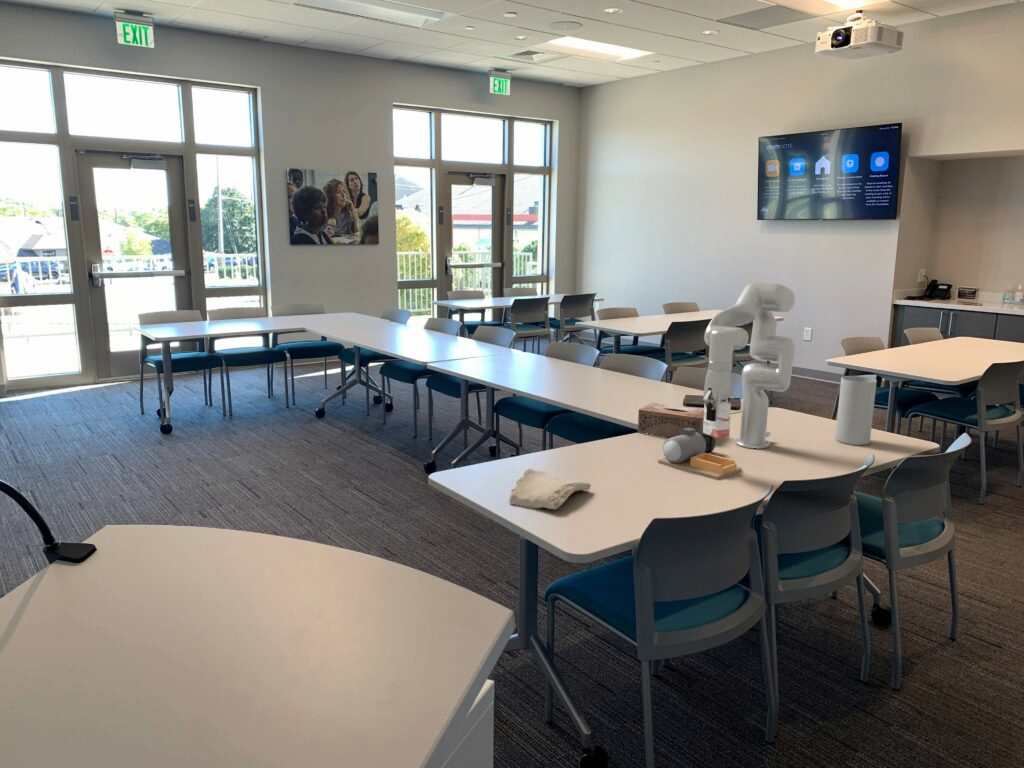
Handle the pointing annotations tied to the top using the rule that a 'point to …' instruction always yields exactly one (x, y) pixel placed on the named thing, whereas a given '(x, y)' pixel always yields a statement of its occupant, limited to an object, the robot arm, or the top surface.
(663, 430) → the tissue box cover
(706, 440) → the end cap
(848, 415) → the cylinder vase
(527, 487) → the beige pottery fragment
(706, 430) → the ink cartridge box
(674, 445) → the motor mount
